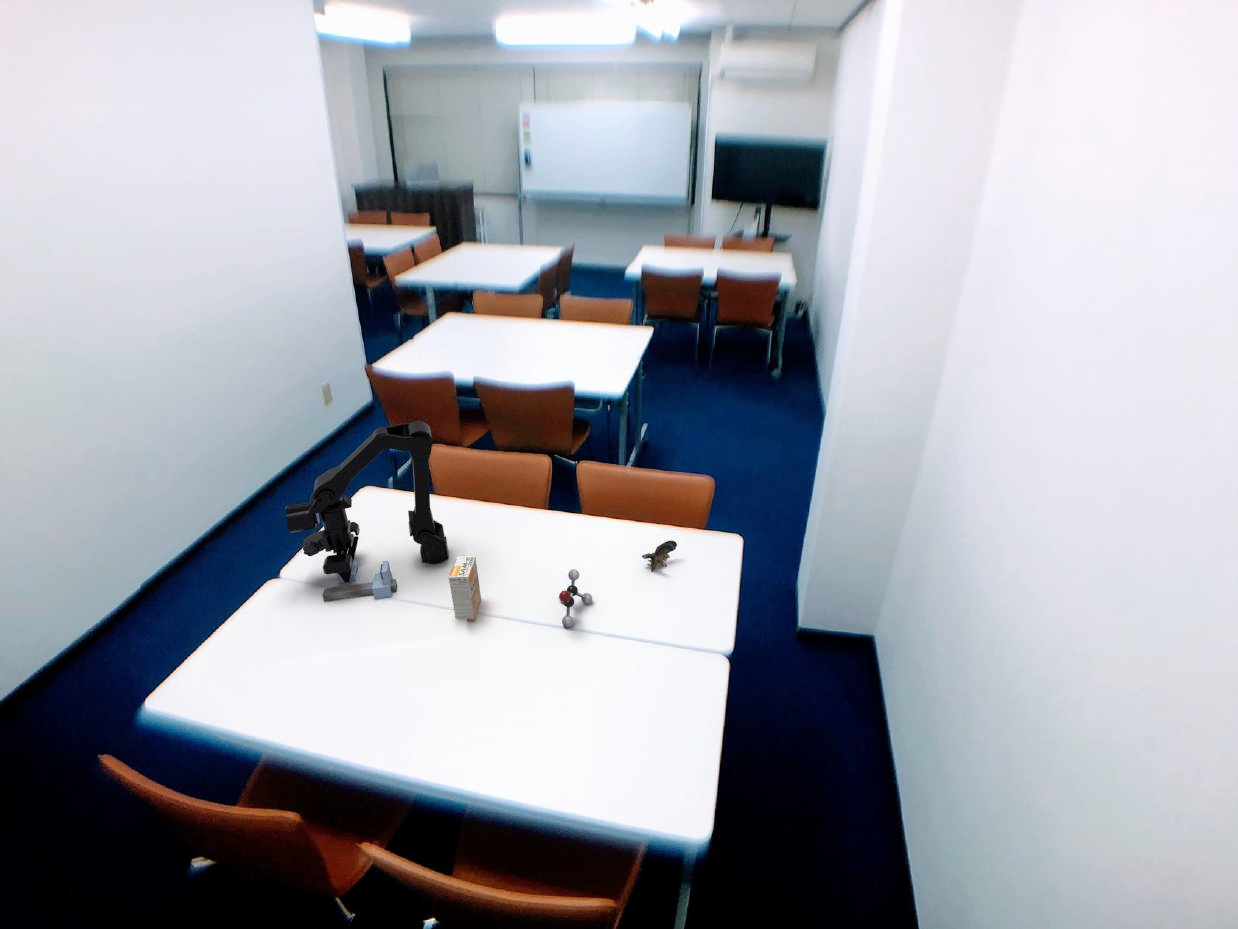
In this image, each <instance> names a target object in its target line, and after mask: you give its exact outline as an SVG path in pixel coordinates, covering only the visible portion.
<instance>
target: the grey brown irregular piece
mask: <svg viewBox="0 0 1238 929" xmlns="http://www.w3.org/2000/svg"><path fill="white" fill-rule="evenodd" d="M677 547H678V543H677V541H676V540H666V541H665V542H663V543H661V544H659V545H657V547H656V548H655V550H654V552H651V553H650V552H649V553H643V554H642V555H641V558H642V559H644V560H645V559H646V560H647V561H648V562H650V563H647V566H648V567H649V566H650V568H651V569H650V572H653V571H655V569H657V567H658V566H665V567H668V565H667V562H666V561H665V560H664V557H670V555H669V554H670V553H671V552H673V551H675V550H676V549H677Z"/></svg>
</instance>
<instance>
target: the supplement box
mask: <svg viewBox="0 0 1238 929" xmlns="http://www.w3.org/2000/svg"><path fill="white" fill-rule="evenodd" d="M478 574H479V573H478V565H477V557H476V556H456V557H455V561H454V563H453V565H452V568H451V570H450V574H449V576H448V581H449V582H448V583H449V587H450V588H449V589H450V595H451V600H452V605H453V611H454V618H455V619H466V621H467V622H475V621H476V617H477V614H478V613H477V612H478V609H479V606H480V604H481V601H482V596H481V590H480V588H481V587H480V580H479V575H478Z"/></svg>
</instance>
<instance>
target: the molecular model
mask: <svg viewBox="0 0 1238 929" xmlns="http://www.w3.org/2000/svg"><path fill="white" fill-rule="evenodd" d="M567 576H568V579H569V580H571V582H570V583H571V585H569V586H568V587H567V588H566V590H562V591H561V592H560V593H559V594H558V599H559V600H560V601H561V602H562V604H563V605H564V607H566V613H565V614H566V615H564V616H563V617H562V618H561V624H562V625H563V626H564V627H566V628H569V627H572V626H573V625H574V618H573V617H572V616H571V614H570V613H571V608H572V607H573V606H574V605H575V599H574V597H575V596H576V597H577V596H578V597H579V598H581V599H580V600H581V602H582V603H583V604H584V605H589V604H591V603H592V602H593V596H592V595H591V593H589V592H584V593H580V592H579V590H578V586H576V585H575V583H576V581H577V580H578V579H579V578H580V573H579V570H577V569H574V568H573V569H570V570H569V571H568V574H567Z"/></svg>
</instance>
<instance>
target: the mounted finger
mask: <svg viewBox="0 0 1238 929" xmlns="http://www.w3.org/2000/svg"><path fill="white" fill-rule="evenodd" d="M389 562H390V561H389V560H383V561H382V563H380V568H379V569H380V570H379V572H378V573H377V572H376V573H374V576H373V581H372V582H373V587H372V590H373V594H374V595H373V598H374V599H375V600H377V599H383V598H392V596H393V594H392V593H393V592H392V593H391V580H392V579H394V578H393V572H392V571H391V567H390V563H389Z"/></svg>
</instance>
